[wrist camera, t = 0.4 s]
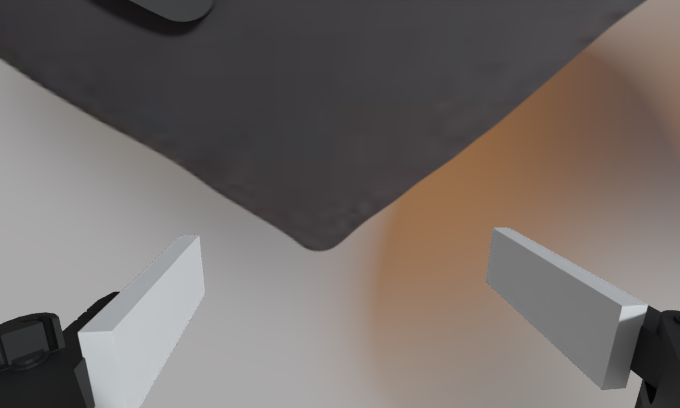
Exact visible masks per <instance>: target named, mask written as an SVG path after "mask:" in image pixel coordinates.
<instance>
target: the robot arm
mask: <svg viewBox="0 0 680 408" xmlns="http://www.w3.org/2000/svg"><path fill="white" fill-rule="evenodd" d="M486 283H487V284H488V285H490V286H491V287H492V288H493V289H494V290H495V291H496V292H497V293H498V294H499V295H501V297H502V298H504V299H505V300H506V301H507V302H508V303H509V304H510V305H511V306H512V307H513V308H514V309H515V310H517V311H518V312H519V313H520V314H521V315H522V316H523V317H524V318H525V319H526V320H527V321H528V322H529V323H530V324H532V325H533V326H534V327H535V328H536V329H537V330H538V331H539V332H540V333H541V334H542V335H543V336H544V337H545V338H547V339H548V340H549V341H550V342H551V343H552V344H553V345H554V346H555V347H556V348H557V349H559V351H561V352H562V353H563V354H564V355H565V356H566V357H567V358H568V359H569V360H570V361H571V362H572V363H573V364H575V365H576V366H577V367H578V368H579V369H580V370H581V371H582V372H583V373H584V374H585V375H587V377H589V378H590V379H591V380H592V381H593V382H594V383H595V384H596V385H597V386H599V388H600V389H601V390H606V389H620V388H626V385H627V382H628V378H629V374H630V370H632V371H633V372H635V373H636V374H637V375H638V376H640V377H641V378H642V379H643V380H642V384H641V387H640V391H639V394H638V398H637V402H636V405H635V408H680V311H676V310H666V311H663V312H660V311H658V310H656V309H654V308H652V307H651V306H649V305H648V304H646V303H644V302H642V301H640V300H639V299H637V298H635V297H633V296H631V295H630V294H628V293H626V292H624V291H622V290H620V289H619V288H617V287H615V286H613V285H611V284H610V283H608V282H606V281H604V280H602V279H601V278H599V277H597V276H595V275H593V274H592V273H590V272H588V271H586V270H584V269H583V268H581V267H579V266H577V265H575V264H574V263H572V262H570V261H568V260H566V259H565V258H563V257H561V256H559V255H557V254H556V253H554V252H552V251H550V250H548V249H546V248H545V247H543V246H541V245H539V244H537V243H535V242H534V241H532V240H530V239H528V238H527V237H525V236H523V235H521V234H519V233H518V232H516V231H514V230H512V229H510V228H493V231H492V238H491V246H490V254H489V262H488V269H487V278H486ZM204 295H205V288H204V278H203V267H202V258H201V249H200V238H199V235H181V236H179V237H178V238H177V239H176V240H175V241H174V242H173V243H172V244H171V245H170V246H169V247H168V248H167V249H166V250H165V251H164V252H162V253H161V254H160V255H159V256H158V257H157V258H156V259H155V260H154V261H153V262H152V263H151V264H150V265H149V266H148V267H147V268H145V270H143V271H142V272H141V273H140V274H139V275H138V276H137V277H136V278H135V279H134V280H133V281H132V282H131V283H130V284H129V285H128V286H127V287H125V288H124V289H123V290H122V291H121V292H113V293H111V294H109V295H107V296H106V297H103V298H101V299H99V300H98V301H97V302H95V303H94V304H93V305H92V306H91V307H90V308H89V309H87V312H84V313H83V314H82V315H81V316H80V317H78V319H77V320H75V321H74V322H73V323H72V324H70V325H69V326H68V327H67V328H66V329H65V330H64V331H62V329H61V325H60V320H59V317H58V316H57V315H56V314H53V313H46V312H45V313H35V314H30V315H26V316H21V317H18V318H15V319H13V320H10V321H7V322H4V323H2V324H0V408H140V406H141V404H142V402H143V401H144V399H145V397H146V396H147V394H148V392H149V390H150V388H151V387H152V385H153V383H154V382H155V380H156V378H157V376H158V375H159V373H160V371H161V369H162V368H163V366H164V364H165V362H166V361H167V359H168V357H169V355H170V354H171V352H172V350H173V349H174V347H175V345H176V343H177V341H178V340H179V338H180V336H181V334H182V333H183V331H184V329H185V328H186V326H187V324H188V322H189V321H190V319H191V317H192V315H193V314H194V312H195V310H196V308H197V307H198V305H199V303H200V301H201V300H202V298H203V296H204Z"/></svg>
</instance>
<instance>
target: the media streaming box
mask: <svg viewBox="0 0 680 408" xmlns="http://www.w3.org/2000/svg"><path fill="white" fill-rule="evenodd" d="M130 1H132V2H134V3H136V4H138V5H140V6H142V7H144V8H146V9H148V10H150V11H152V12H154V13H156V14H158V15H160V16H162V17H165V18H167V19H169V20H173V21H179V22H186V21H192V20H196V19H199V18H202V17H204V16H205V15H207V14H208V13H209V12H211V11H212V9H213V8H214V7H215V5H216V3H217V1H218V0H130Z"/></svg>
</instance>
